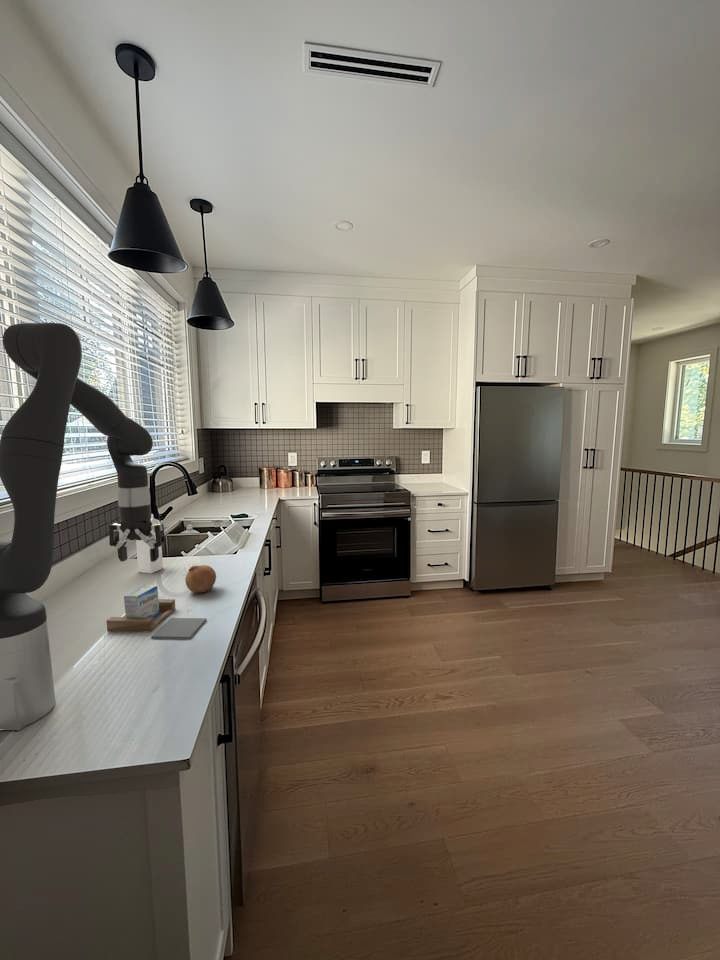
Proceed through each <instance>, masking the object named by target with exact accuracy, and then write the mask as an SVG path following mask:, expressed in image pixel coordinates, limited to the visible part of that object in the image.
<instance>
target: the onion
mask: <svg viewBox="0 0 720 960" xmlns="http://www.w3.org/2000/svg"><path fill="white" fill-rule="evenodd" d="M186 573H187V574H186V575H185V578H184V579H185V581H184V582H185V585H186V588H187V589H188V590H189V591H190V592H192V593H195V594H200V593H207V592H209V591H211V590H212V589H213V587H214V584H215V583H216V581H217V574H216V571H215V569H214V568H213V567H212V566H210V565H207V564H205V565H204V564H202V565H192V566H190V568H189V569H188V572H186Z"/></svg>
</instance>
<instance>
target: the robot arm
mask: <svg viewBox="0 0 720 960" xmlns="http://www.w3.org/2000/svg"><path fill="white" fill-rule="evenodd" d="M2 345H3V348H4V351H5V353H6V355H7V356H8V357H9V359H10V360H11V361H12V362H13V363H14V364H15V365H16V366H17V367H19V369H21V370H22V371H24V373H25V372H26V373H27V375H29V376H31V377H32V378H33V379H35V380H36V382H35V384H34V388H33V389H32V391H31V392H30V394H29V396H28V397H27V398H26V399H25V401H23V403H22V404H21V405H20V406H19V408H17V410H15V412H14V413H13V414H12V416H10V418H9V419H8V421H7V422H6V424H5V426H4V427H3V430H2V432H1V435H0V481H1V483H2V485H3V488H4V489H5V491H6V492H7V495H8V497H9V499H10V502H11V504H12V508H13V515H14V517H13V518H14V519H13V522H14V523H13V530H12V538H11V540H9V539H8V540H7V539H0V729H5V730H17V731H16V732H18V731H21V730H22V729H24V728H25V727H26V726H28V725H30V724H32V723H35V722H36V721H38V720H41V719H42V718H43V717H45V716H46V715H48V714H49V712H51V711H52V710H53V709H54V707H55V705H56V694H55V683H54V674H53V665H52V656H51V648H50V639H49V627H48V619H47V616H48V615H47V610H46V609H47V608H46V606H45V605H44V604H43V603H42V602H40V601H39V600H37V599H34V598H33V597H31V596H29V595H28V594H29V593H33V592H35V591H37V590H39V589H40V588H42V586H44V584H46V581H47V580H48V578H49V576H50V573H51V570H52V568H53V563H54V553H55V552H54V551H55V550H54V548H55V546H54V545H55V515H56V514H55V512H56V511H55V510H56V502H57V494H58V493H57V492H58V486H59V485H58V484H59V479H60V472H61V467H62V462H63V454H64V448H65V436H66V430H67V423H68V419H69V418H68V417H69V413H70V407H71V406H72V407H73V408H74V409H76V410H77V411H78V412H79V413H80V414H81V415H82V416H83V417H85V418H86V420H88V421H89V423H90V424H91V425H92V426H93V427H94V428H95V429H97V431H98V432H100V433H101V434H102V435H104V436H107V439H106V446H107V450H108V453H109V455H110V457H111V460H112V464H113V465H114V469H115V470H116V476H117V487H118V488H117V489H118V491H117V504H118V514H119V521H120V523H118V522H115V523H112V524H109V526H108V532H109V533H108V535H109V536H108V537H109V541H108V542H109V543H108V544H109V546H110V547H115V548H116V549H117V557H118V560H119V561H120V562H125V561H128V551H127V550H128V549H127V548H128V547H127V546H126V545H127V544H128V542H129V541H136V540H143V541H144V542H145V543H147V544H148V545H149V546H150V548H151V549H150V559H151V562H155V561H156V560H157V559H158V558H159V549H158V547H160V546H163V545H165V544H166V534H165V528H164V523H162V522H160V524H155V525H153V524H152V523H151V514H152V507H151V493H150V489H149V481H148V480H149V479H148V469H147V467H146V466H145V465H143V464H140V463H137V462H134V460H133V459H132V456H144V455H148V454H149V453H150V452H151V451H152V449H153V444H154V443H153V442H154V441H153V438H152V435H151V434H150V433H149V431H148V430H147V429H146V428H145V427H144V426H142V425H141V424H139V423H138V422H136V421H135V420H133V419H132V418H130V417H129V416H127V415H126V414H125V413H124V412H123V411H122V409H121V408H120V407H119V406H118V405H117V404H116V402H115V401H113V400H112V398H110V397H109V396H108V395H107V394H105V393H104V392H103V391H101V390H99V389H97V388H96V387H94V386H92V385H91V384H89V383H87V382H85V381H84V380H82V379H80V378H79V377H78V376H79V373H80V369H81V365H82V358H83V348H82V343H81V339H80V338H79V335H78V334H77V332H76V331H75V329H73V328H72V327H71V326H69V325H67V324H64V323H61V322H59V323H58V322H22V323H21V322H20V323H15V324H12V325H9V326H7V328H6V329H5V330H4V332H3V335H2ZM152 529H153V532H155V536H156V539H155V536H154V535H153V534H152V532H151V530H152ZM120 531H121V532H122V533H123V534H122V535H121V537H120ZM147 536H148V537H149V538H148V537H147Z"/></svg>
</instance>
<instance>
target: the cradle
mask: <svg viewBox="0 0 720 960" xmlns="http://www.w3.org/2000/svg"><path fill="white" fill-rule="evenodd" d="M158 600H159V613H162V614H160V616H158V617H157V618H156V619H155V617H154V618H151V617H126V615H123V616H110V617H109V618H107V619H106V629H107V630H106V632H127V633H128V632H130V633H133V632H134V633H135V632H137V633H143V632H144V633H148V632H149V633H151V632H152V631H153V630H154V629H155V628H157V626H159V624H161V623H162V622H163V621H164V620H165V619H166V618H168V616H169V615H171V614H172V613H173V612H174V611H175V610H176V599H173V598H172V599H169V598H167V599H166V598H162V599H160V598H158Z"/></svg>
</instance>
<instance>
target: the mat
mask: <svg viewBox="0 0 720 960" xmlns="http://www.w3.org/2000/svg"><path fill="white" fill-rule="evenodd" d="M205 622H207V618H206V617H205V618H202V617H171V618H169V619H168V620H167V621H166V622H165V623H164V624H163V625H162V626H161V627H160V628H159V629H158V630H156V631H155V632H154V633H153V634H152V635H151V636H150V637H151V639H153V640H156V639H159V640H160V639H163V640H164V639H165V640H167V639H168V640H191V639H192V637H193V636H194V635H195V634H196V633H197V632H198V631H199V630H200V628H201V627H202V626H203V625H204V624H205Z"/></svg>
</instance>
